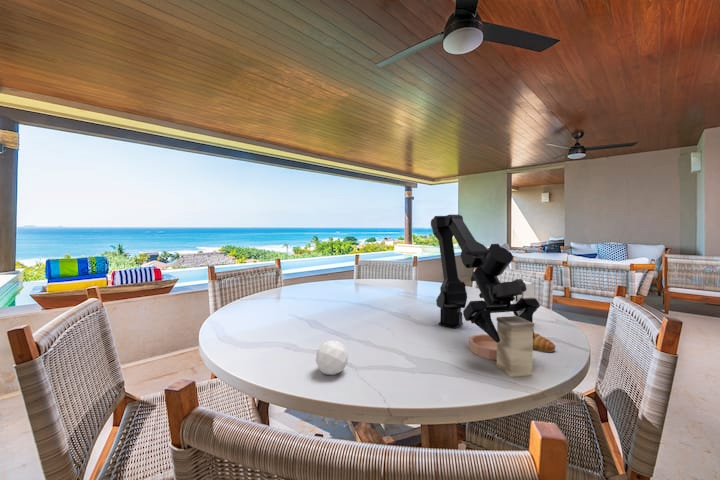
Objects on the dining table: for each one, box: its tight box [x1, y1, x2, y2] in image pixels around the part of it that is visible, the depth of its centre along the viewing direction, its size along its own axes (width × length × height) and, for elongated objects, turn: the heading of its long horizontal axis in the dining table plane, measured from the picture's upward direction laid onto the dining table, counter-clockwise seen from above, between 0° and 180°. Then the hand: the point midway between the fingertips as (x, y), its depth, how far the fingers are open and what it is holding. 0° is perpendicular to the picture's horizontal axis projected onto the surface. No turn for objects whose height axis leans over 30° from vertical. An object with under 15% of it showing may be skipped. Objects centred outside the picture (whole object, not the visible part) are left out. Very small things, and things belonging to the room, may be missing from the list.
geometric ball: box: [315, 339, 349, 376], centre depth 74 cm, size 8×8×8 cm
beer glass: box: [511, 280, 535, 316], centre depth 106 cm, size 7×7×15 cm
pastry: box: [533, 332, 556, 353], centre depth 88 cm, size 9×7×4 cm
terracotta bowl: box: [468, 333, 497, 361], centre depth 85 cm, size 12×12×2 cm
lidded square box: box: [496, 315, 535, 378], centre depth 74 cm, size 6×6×12 cm
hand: (516, 340), depth 73 cm, fingers open, 9 cm apart
